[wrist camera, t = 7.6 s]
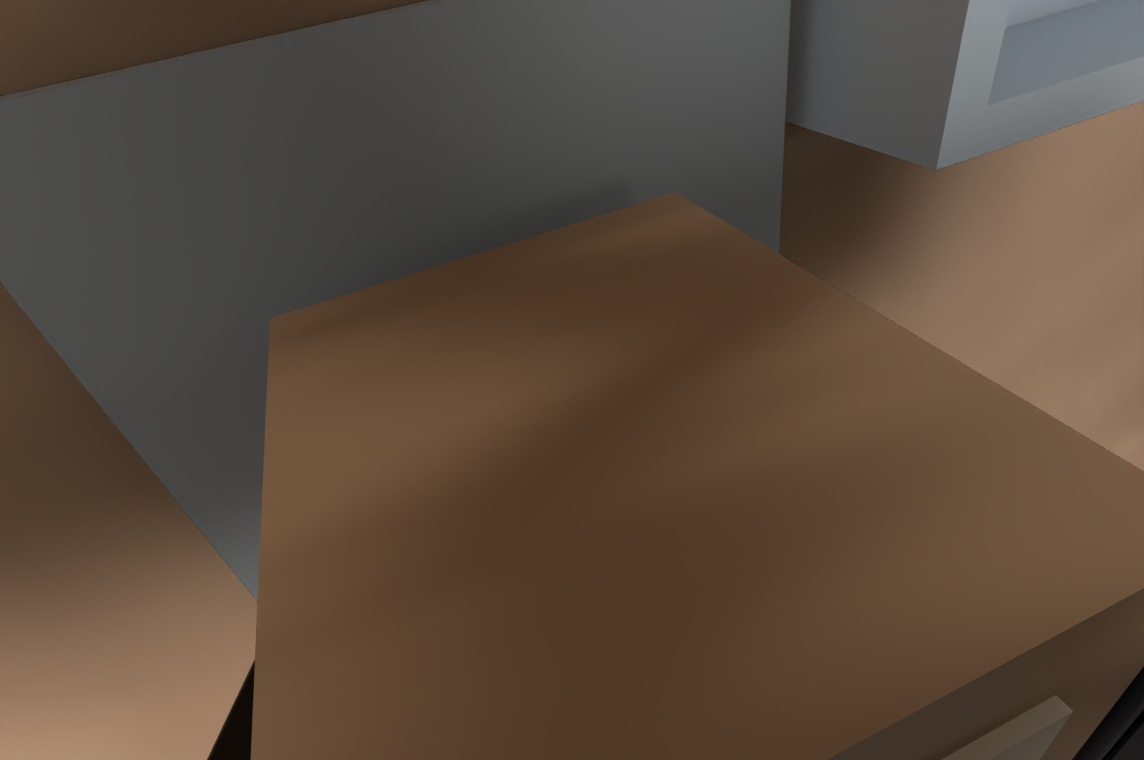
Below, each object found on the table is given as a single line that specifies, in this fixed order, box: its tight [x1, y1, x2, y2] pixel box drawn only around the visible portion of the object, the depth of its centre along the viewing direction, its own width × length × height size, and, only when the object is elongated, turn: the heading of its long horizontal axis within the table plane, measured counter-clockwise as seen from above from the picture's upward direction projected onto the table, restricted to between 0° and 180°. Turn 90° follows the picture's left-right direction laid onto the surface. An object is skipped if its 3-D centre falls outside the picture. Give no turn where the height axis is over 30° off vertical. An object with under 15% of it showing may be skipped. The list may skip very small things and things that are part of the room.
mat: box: [0, 0, 791, 602], centre depth 10 cm, size 10×10×1 cm
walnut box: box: [251, 192, 1144, 760], centre depth 6 cm, size 5×5×6 cm
